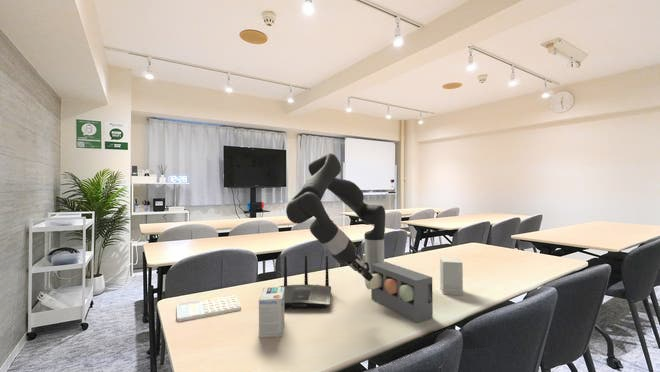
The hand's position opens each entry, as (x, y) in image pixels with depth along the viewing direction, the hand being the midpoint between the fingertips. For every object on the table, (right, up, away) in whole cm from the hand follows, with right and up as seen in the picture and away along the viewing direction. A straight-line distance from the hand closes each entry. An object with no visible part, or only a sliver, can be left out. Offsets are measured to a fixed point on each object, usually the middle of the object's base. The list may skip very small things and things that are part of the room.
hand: (370, 278), depth 99 cm
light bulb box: (-30, -12, -9) cm, 34 cm away
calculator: (-55, -13, +6) cm, 57 cm away
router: (-23, -13, +13) cm, 30 cm away
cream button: (+3, -6, +10) cm, 12 cm away
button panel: (+11, -12, +6) cm, 17 cm away
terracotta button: (+9, -6, +5) cm, 12 cm away
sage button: (+13, -6, -2) cm, 14 cm away
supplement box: (+35, -12, +21) cm, 43 cm away
